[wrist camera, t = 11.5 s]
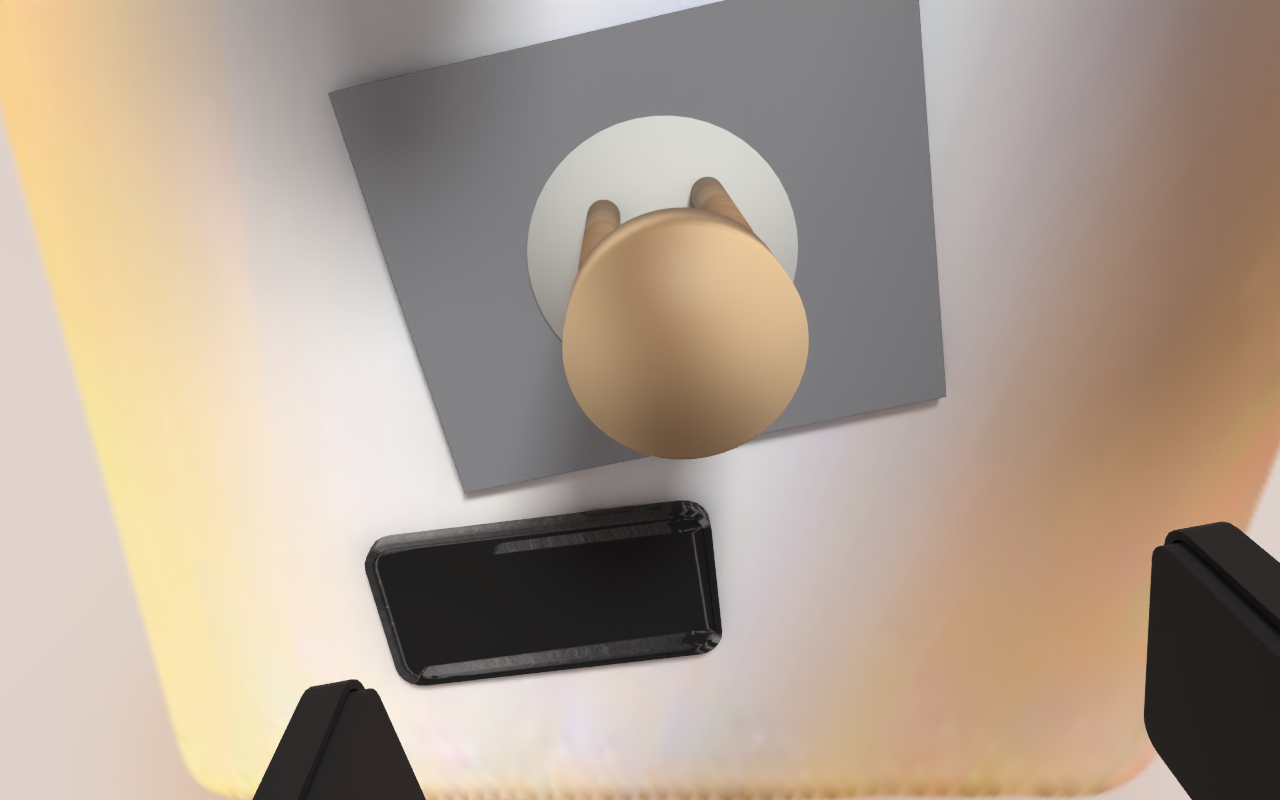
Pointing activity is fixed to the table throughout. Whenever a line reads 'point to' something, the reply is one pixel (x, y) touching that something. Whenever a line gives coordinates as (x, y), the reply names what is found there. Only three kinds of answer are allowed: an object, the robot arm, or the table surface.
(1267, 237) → the table surface
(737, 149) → the mat
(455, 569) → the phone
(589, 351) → the stool
